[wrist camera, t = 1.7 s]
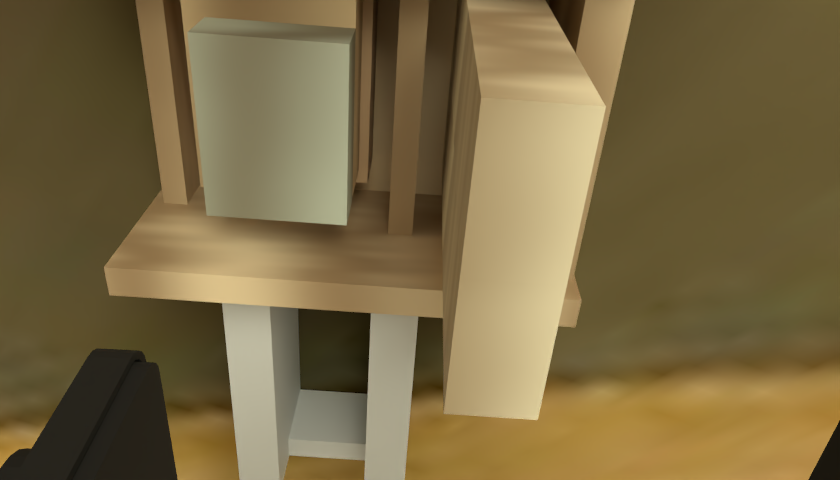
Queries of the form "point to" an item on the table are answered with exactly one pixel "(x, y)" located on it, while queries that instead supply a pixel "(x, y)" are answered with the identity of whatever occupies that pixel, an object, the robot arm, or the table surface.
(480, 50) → the wooden board
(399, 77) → the rack
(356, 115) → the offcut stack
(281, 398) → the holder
